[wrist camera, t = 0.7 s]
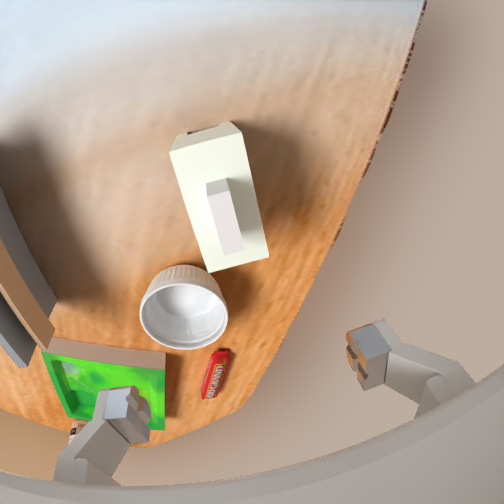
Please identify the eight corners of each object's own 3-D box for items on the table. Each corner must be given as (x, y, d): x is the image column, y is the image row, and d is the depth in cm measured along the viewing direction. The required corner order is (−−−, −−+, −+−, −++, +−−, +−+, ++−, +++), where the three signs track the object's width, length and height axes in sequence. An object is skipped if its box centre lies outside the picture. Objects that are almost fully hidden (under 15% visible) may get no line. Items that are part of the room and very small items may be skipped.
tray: (165, 350, 56) (164, 370, 52) (164, 414, 67) (164, 430, 63) (48, 334, 50) (40, 351, 46) (71, 401, 61) (68, 416, 57)
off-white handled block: (177, 134, 37) (164, 161, 24) (229, 120, 38) (248, 138, 24) (204, 227, 44) (210, 294, 31) (251, 214, 45) (277, 276, 31)
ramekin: (131, 299, 49) (124, 328, 43) (170, 241, 45) (167, 266, 39) (196, 331, 54) (197, 360, 48) (240, 281, 50) (246, 309, 44)
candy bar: (215, 393, 65) (216, 403, 62) (199, 391, 64) (200, 402, 61) (230, 347, 58) (232, 358, 55) (212, 345, 57) (213, 356, 54)
